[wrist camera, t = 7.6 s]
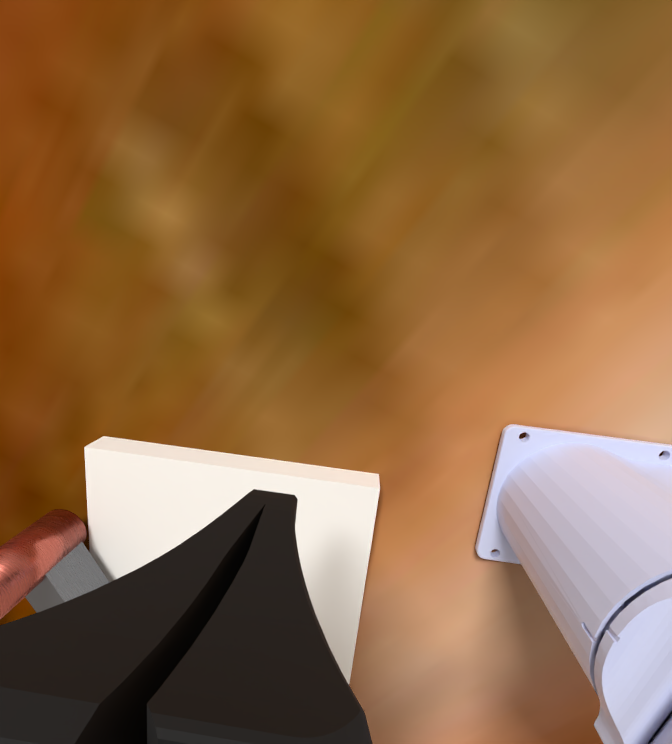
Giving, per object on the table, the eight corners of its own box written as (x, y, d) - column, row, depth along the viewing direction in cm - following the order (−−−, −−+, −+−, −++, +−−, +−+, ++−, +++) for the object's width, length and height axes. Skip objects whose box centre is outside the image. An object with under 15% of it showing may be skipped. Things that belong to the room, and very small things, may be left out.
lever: (250, 762, 23) (221, 887, 19) (203, 775, 24) (163, 899, 19) (76, 499, 20) (-16, 567, 15) (26, 521, 20) (-79, 593, 16)
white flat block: (378, 474, 20) (383, 524, 16) (334, 758, 25) (329, 856, 21) (103, 436, 21) (35, 474, 17) (113, 720, 26) (63, 807, 22)
